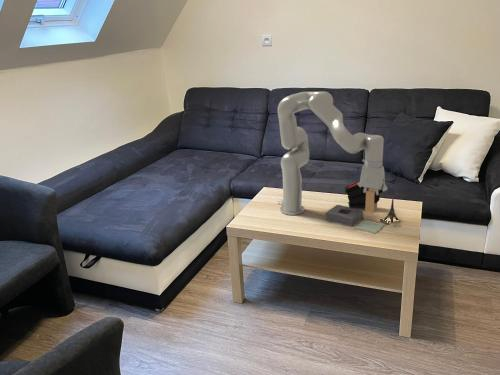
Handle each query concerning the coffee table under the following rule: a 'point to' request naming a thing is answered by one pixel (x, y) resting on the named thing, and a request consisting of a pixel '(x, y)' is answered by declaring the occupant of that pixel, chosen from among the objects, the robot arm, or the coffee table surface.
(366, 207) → the plug
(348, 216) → the grey flat block
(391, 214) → the eiffel tower figurine
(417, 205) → the coffee table surface
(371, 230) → the mat
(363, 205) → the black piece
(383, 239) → the coffee table surface
